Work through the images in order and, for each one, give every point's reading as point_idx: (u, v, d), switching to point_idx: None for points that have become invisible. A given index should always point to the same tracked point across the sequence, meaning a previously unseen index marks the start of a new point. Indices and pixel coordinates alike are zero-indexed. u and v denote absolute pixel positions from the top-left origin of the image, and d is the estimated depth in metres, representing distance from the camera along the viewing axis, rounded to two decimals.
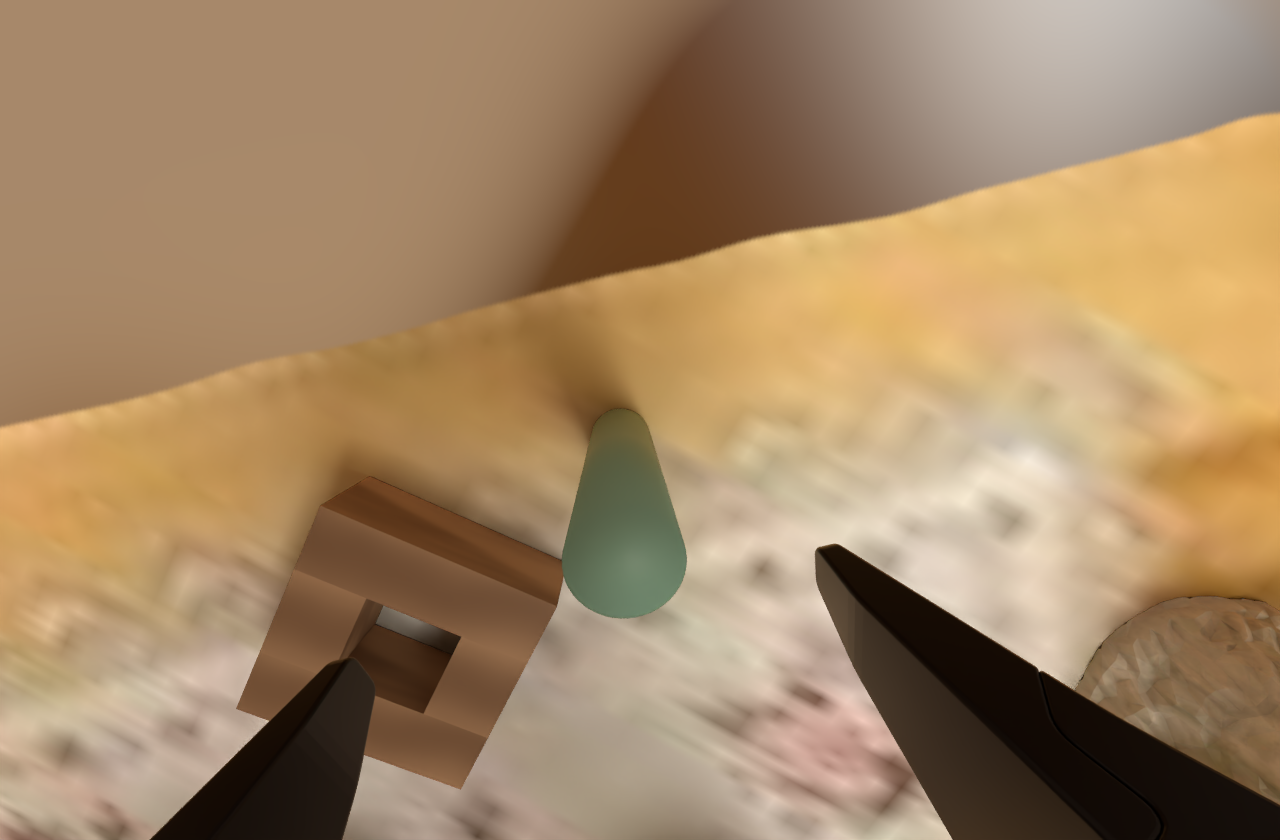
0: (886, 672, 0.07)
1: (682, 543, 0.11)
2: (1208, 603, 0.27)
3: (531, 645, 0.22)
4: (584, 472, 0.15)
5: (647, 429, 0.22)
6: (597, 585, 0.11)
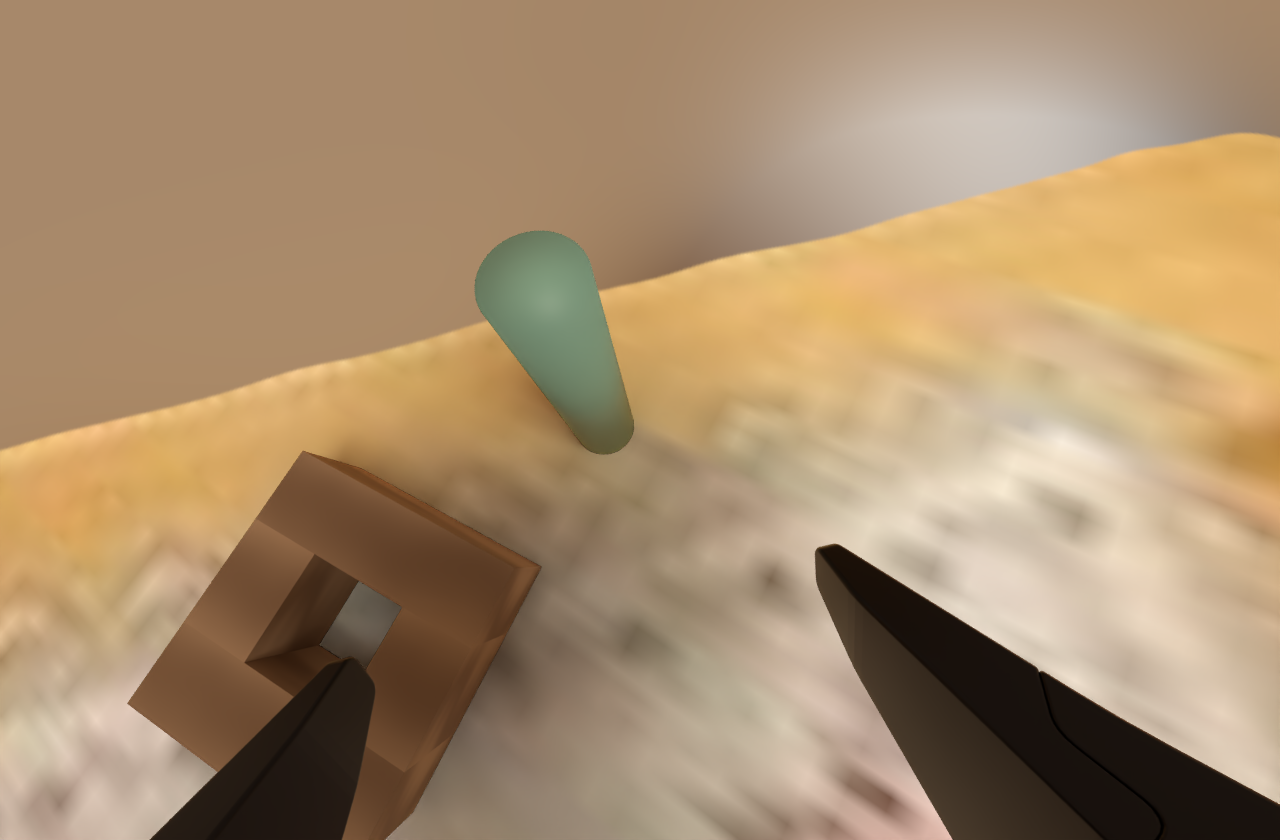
0: (886, 672, 0.07)
1: (588, 262, 0.12)
2: None
3: (479, 621, 0.18)
4: None
5: None
6: (505, 303, 0.12)
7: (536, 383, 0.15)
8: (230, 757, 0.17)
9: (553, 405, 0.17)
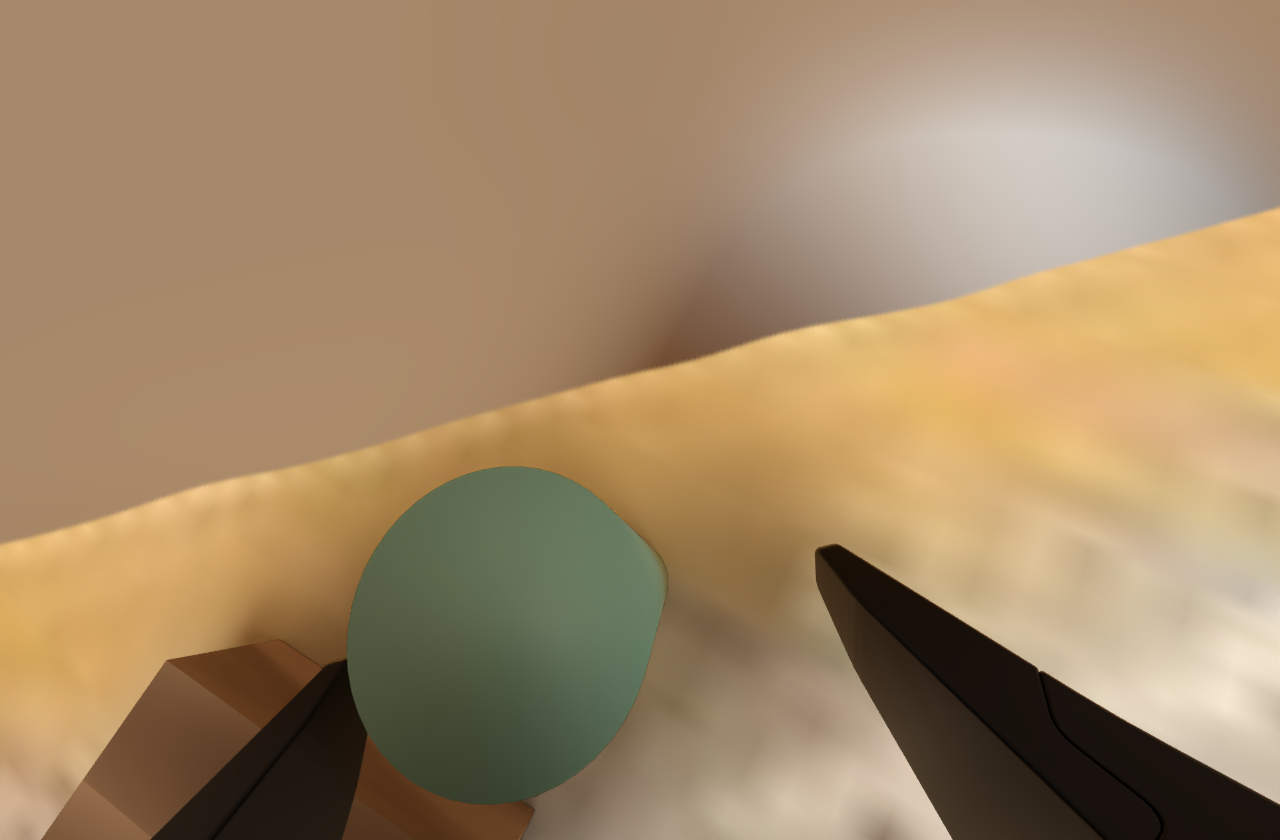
0: (886, 672, 0.07)
1: (640, 568, 0.05)
2: None
3: None
4: None
5: (658, 555, 0.15)
6: (424, 687, 0.04)
7: None
8: None
9: None
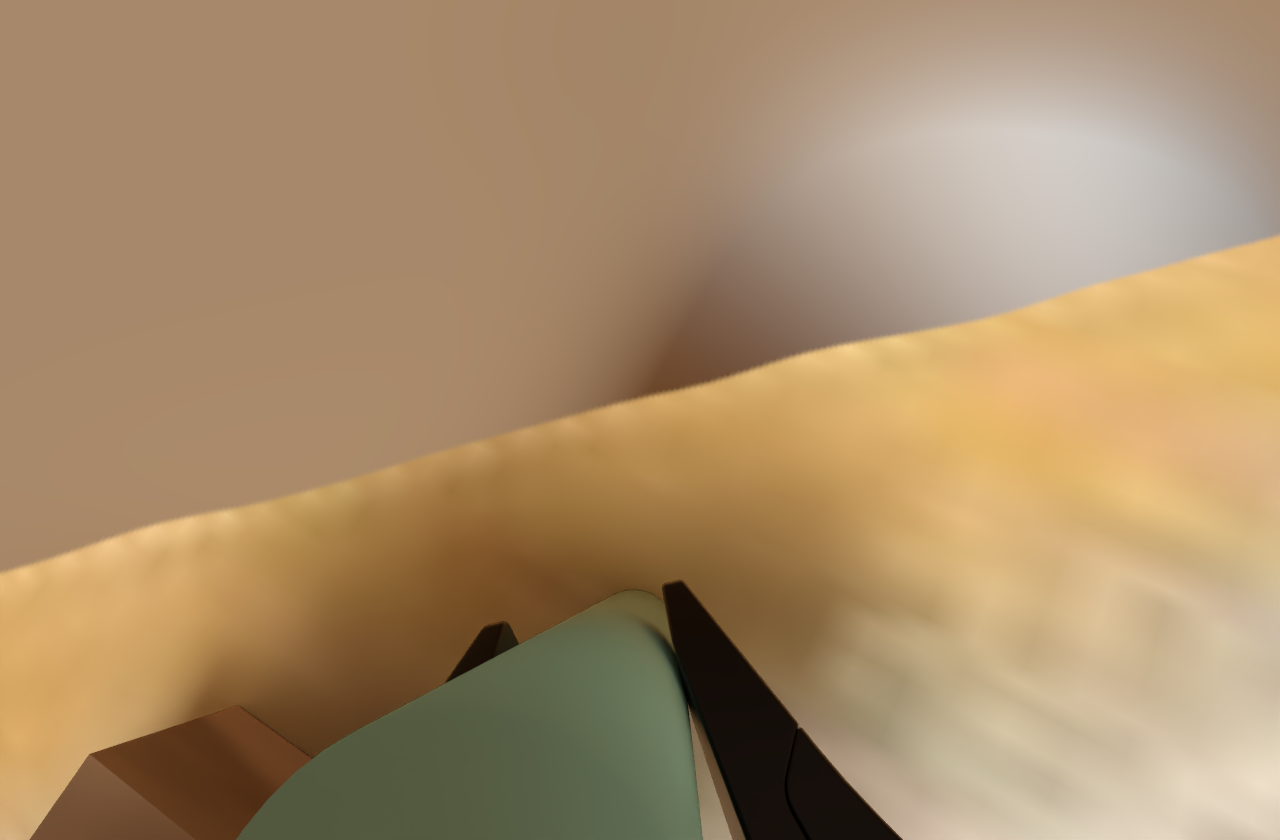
0: (695, 717, 0.07)
1: None
2: None
3: None
4: None
5: None
6: None
7: None
8: None
9: None
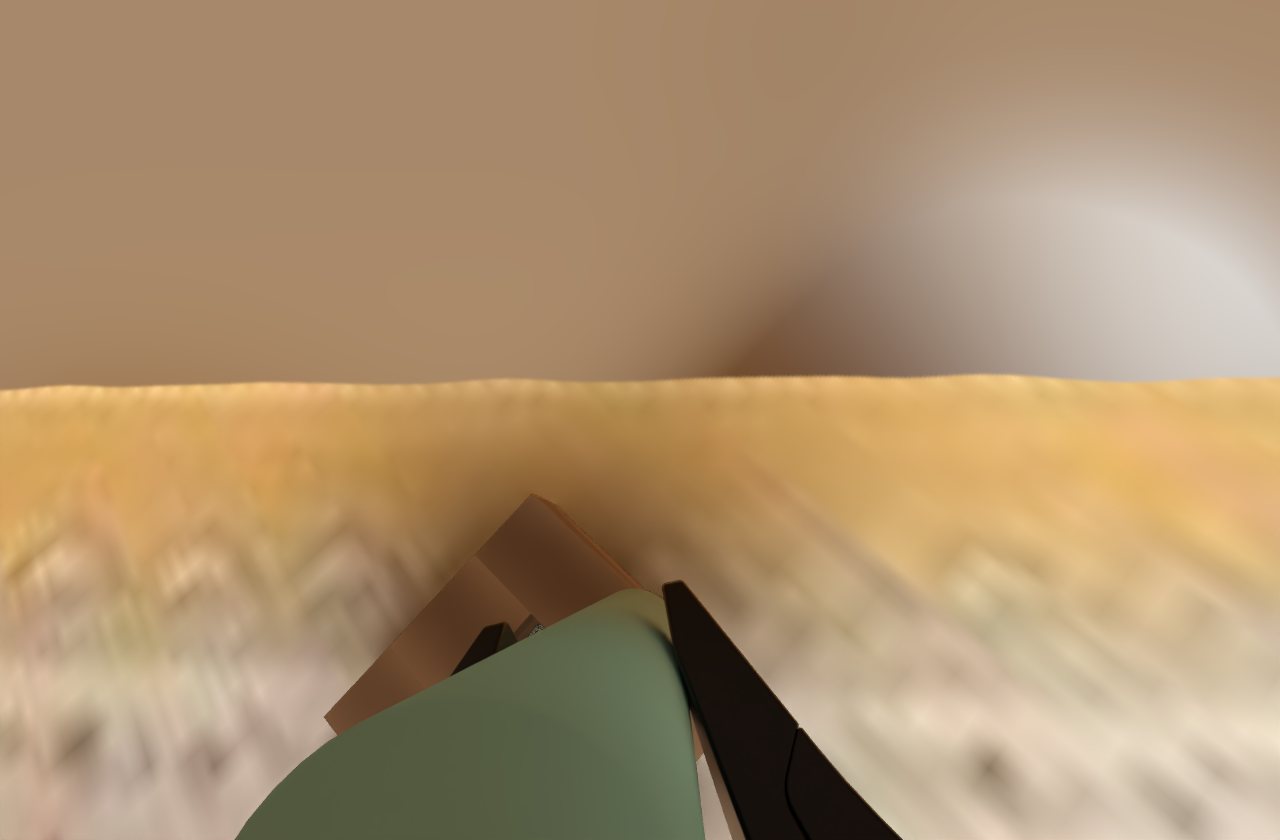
0: (695, 717, 0.07)
1: None
2: None
3: (698, 747, 0.16)
4: None
5: None
6: None
7: None
8: None
9: None
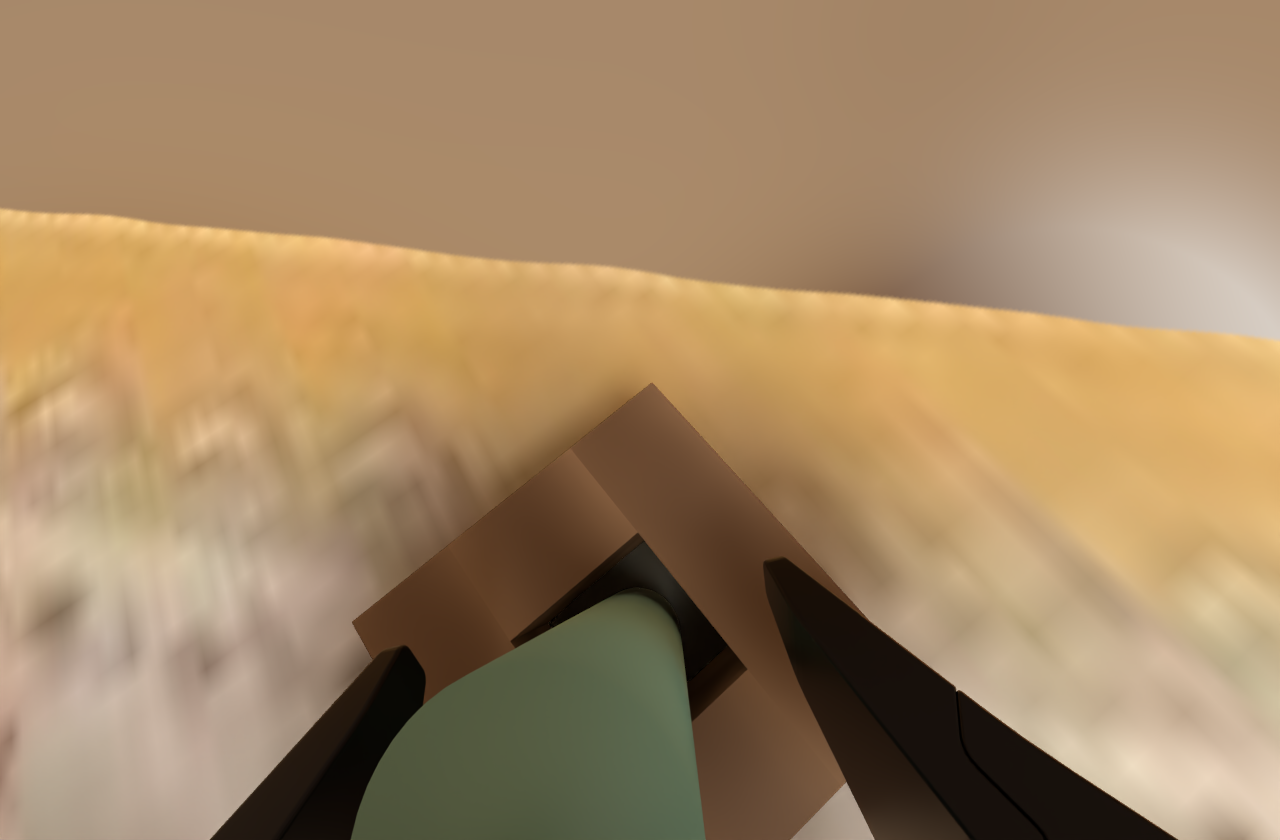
0: (821, 687, 0.07)
1: (692, 798, 0.04)
2: None
3: None
4: None
5: (672, 612, 0.14)
6: None
7: None
8: None
9: None
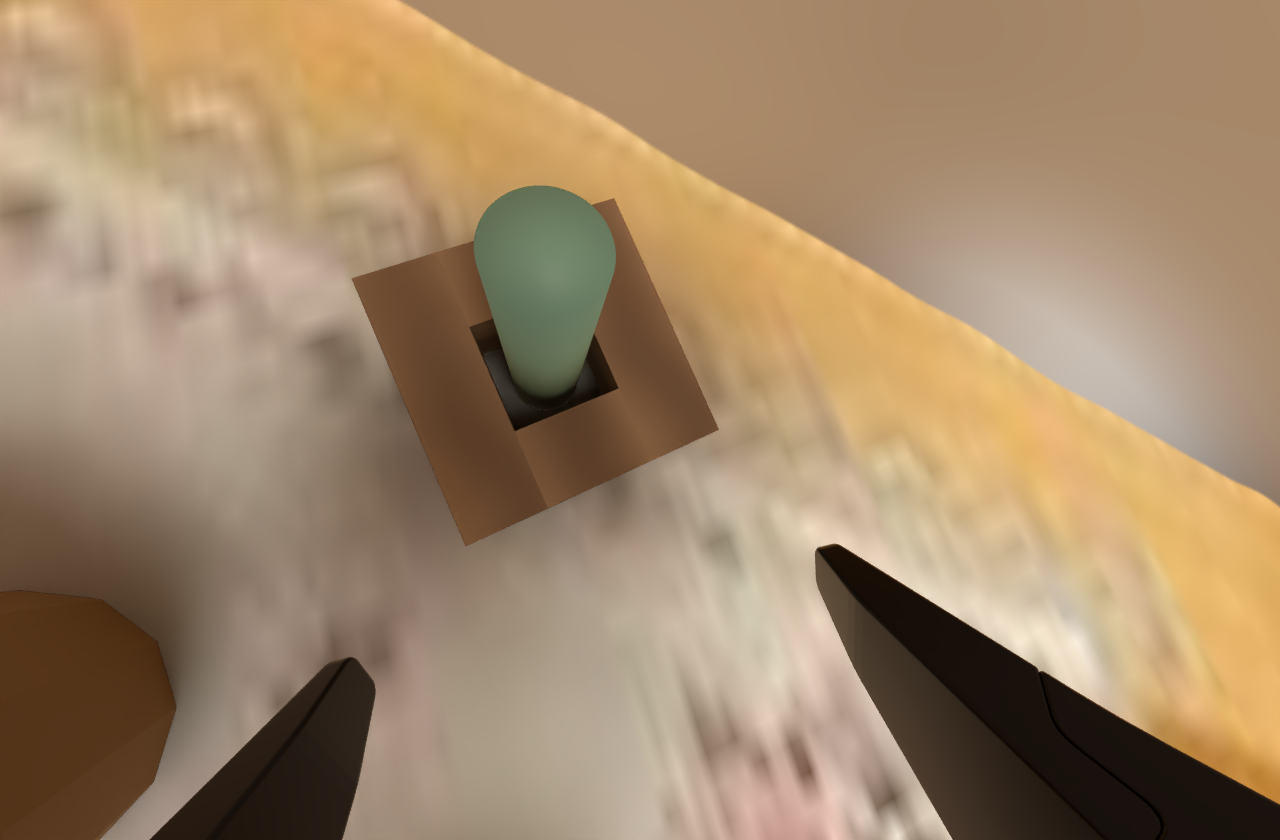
0: (886, 672, 0.07)
1: (614, 253, 0.10)
2: None
3: (669, 446, 0.19)
4: None
5: None
6: (508, 265, 0.10)
7: (501, 339, 0.14)
8: (417, 390, 0.18)
9: (508, 360, 0.16)
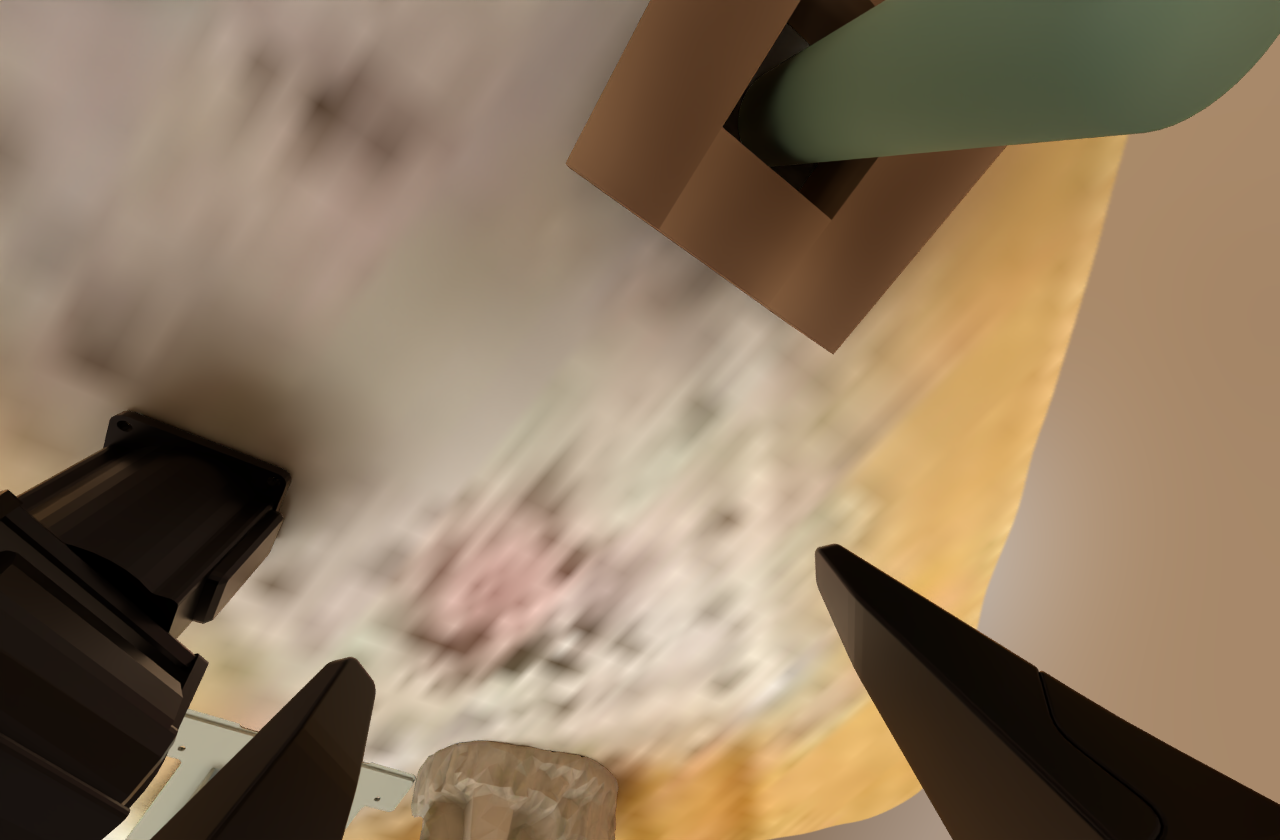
0: (886, 672, 0.07)
1: (1204, 105, 0.06)
2: None
3: (791, 316, 0.16)
4: None
5: None
6: None
7: (890, 17, 0.09)
8: None
9: (833, 50, 0.11)
